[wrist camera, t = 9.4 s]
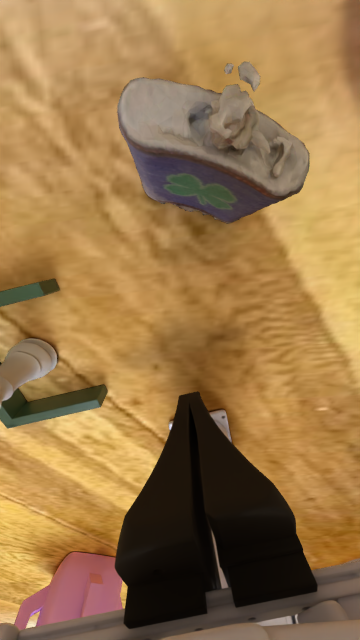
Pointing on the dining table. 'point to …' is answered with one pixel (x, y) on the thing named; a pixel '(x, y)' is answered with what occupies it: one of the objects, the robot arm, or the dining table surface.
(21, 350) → the rook chess piece
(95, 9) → the dining table surface
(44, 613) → the teakettle
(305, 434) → the dining table surface
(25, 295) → the bay
